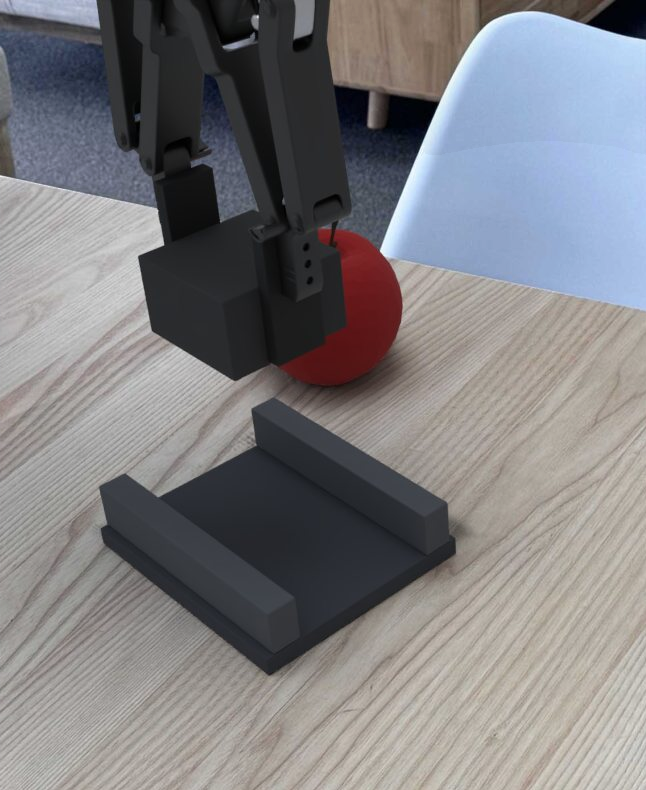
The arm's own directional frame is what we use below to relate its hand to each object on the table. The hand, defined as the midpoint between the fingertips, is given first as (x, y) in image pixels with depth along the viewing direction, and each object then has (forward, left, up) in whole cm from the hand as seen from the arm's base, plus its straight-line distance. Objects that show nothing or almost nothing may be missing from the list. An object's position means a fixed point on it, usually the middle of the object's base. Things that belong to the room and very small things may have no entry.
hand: (248, 324), depth 65 cm
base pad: (0, 0, -13) cm, 13 cm away
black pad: (0, 0, 0) cm, 0 cm away
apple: (-11, +13, -13) cm, 22 cm away
